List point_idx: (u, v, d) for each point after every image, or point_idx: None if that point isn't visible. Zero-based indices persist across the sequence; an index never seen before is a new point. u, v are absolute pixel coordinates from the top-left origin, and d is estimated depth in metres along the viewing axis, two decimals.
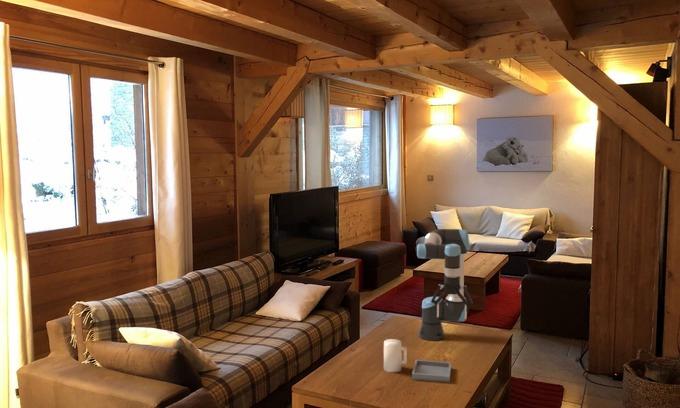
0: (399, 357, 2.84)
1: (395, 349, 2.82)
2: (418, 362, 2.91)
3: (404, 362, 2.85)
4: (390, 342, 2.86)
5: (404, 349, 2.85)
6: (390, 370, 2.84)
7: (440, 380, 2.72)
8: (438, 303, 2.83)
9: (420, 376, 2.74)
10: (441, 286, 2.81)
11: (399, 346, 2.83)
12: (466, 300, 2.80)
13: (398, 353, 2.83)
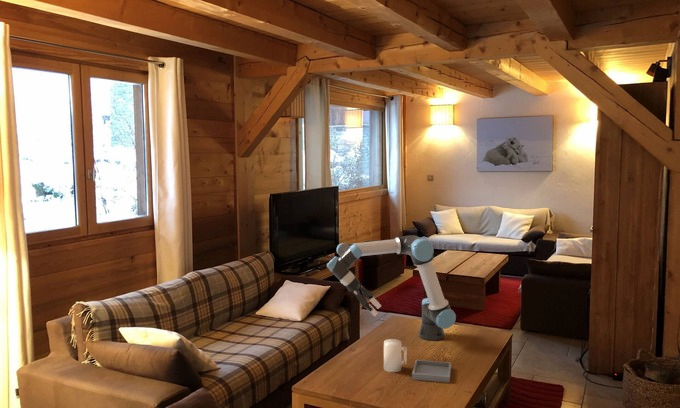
0: (399, 357, 2.84)
1: (395, 349, 2.82)
2: (418, 362, 2.91)
3: (404, 362, 2.85)
4: (390, 342, 2.86)
5: (404, 349, 2.85)
6: (390, 370, 2.84)
7: (440, 380, 2.72)
8: (372, 297, 3.06)
9: (420, 376, 2.74)
10: None
11: (399, 346, 2.83)
12: None
13: (398, 353, 2.83)
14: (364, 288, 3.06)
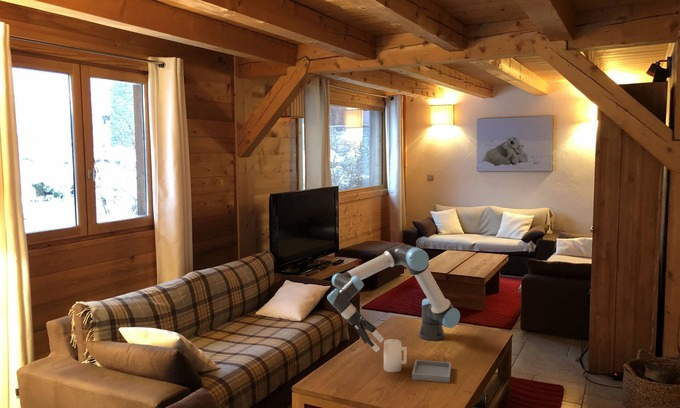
0: (399, 357, 2.84)
1: (395, 349, 2.82)
2: (418, 362, 2.91)
3: (404, 362, 2.85)
4: (390, 342, 2.86)
5: (404, 349, 2.85)
6: (390, 370, 2.84)
7: (440, 380, 2.72)
8: (374, 331, 2.94)
9: (420, 376, 2.74)
10: None
11: (399, 346, 2.83)
12: None
13: (398, 353, 2.83)
14: (366, 321, 2.94)
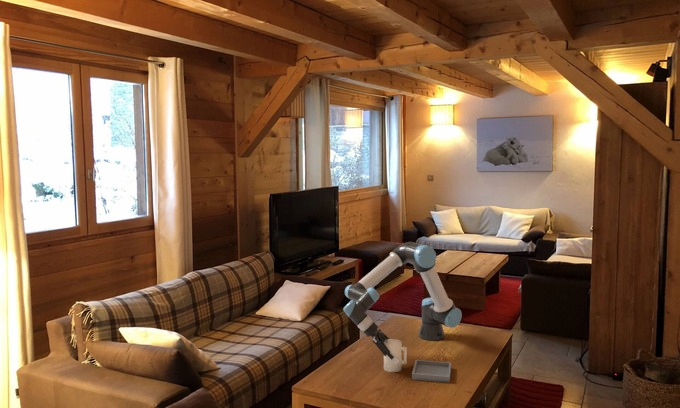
0: (399, 357, 2.84)
1: (395, 349, 2.82)
2: (418, 362, 2.91)
3: (404, 362, 2.85)
4: (390, 342, 2.86)
5: (404, 349, 2.85)
6: (390, 370, 2.84)
7: (440, 380, 2.72)
8: None
9: (420, 376, 2.74)
10: None
11: (399, 346, 2.83)
12: None
13: (398, 353, 2.83)
14: (383, 334, 2.93)
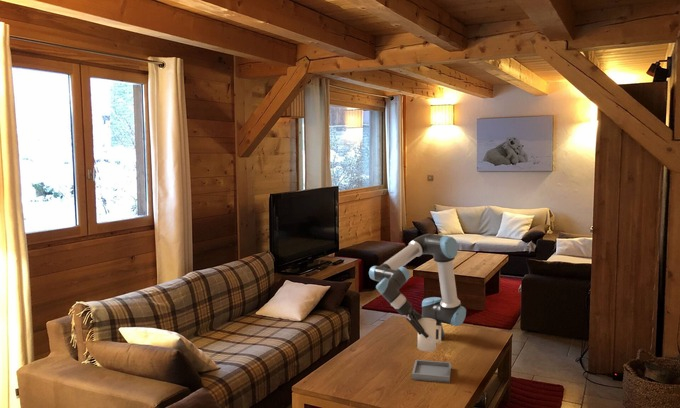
0: (434, 336, 2.76)
1: (430, 327, 2.75)
2: (418, 362, 2.91)
3: (439, 341, 2.78)
4: (424, 321, 2.78)
5: (439, 328, 2.77)
6: (424, 349, 2.76)
7: (440, 380, 2.72)
8: None
9: (420, 376, 2.74)
10: None
11: (434, 324, 2.76)
12: None
13: (433, 332, 2.76)
14: (417, 312, 2.86)
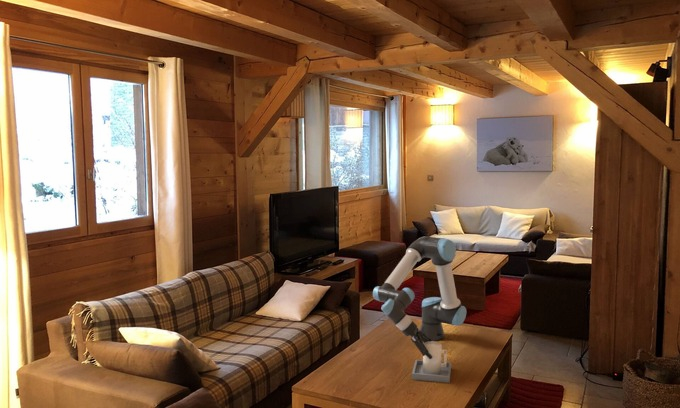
0: (439, 360, 2.78)
1: (435, 352, 2.76)
2: (418, 362, 2.91)
3: (444, 365, 2.79)
4: (430, 345, 2.79)
5: (444, 352, 2.78)
6: (430, 373, 2.77)
7: (440, 380, 2.72)
8: None
9: (420, 376, 2.74)
10: None
11: (439, 349, 2.77)
12: None
13: (438, 356, 2.77)
14: (421, 332, 2.87)
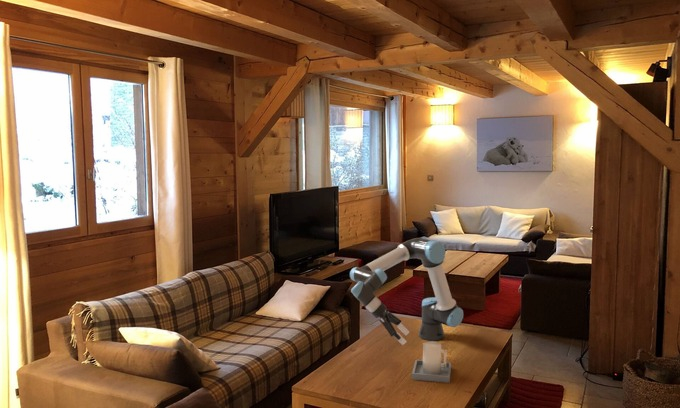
0: (439, 360, 2.78)
1: (435, 352, 2.76)
2: (418, 362, 2.91)
3: (444, 365, 2.79)
4: (429, 345, 2.79)
5: (444, 352, 2.78)
6: (430, 373, 2.77)
7: (440, 380, 2.72)
8: (399, 323, 2.89)
9: (420, 376, 2.74)
10: None
11: (439, 349, 2.77)
12: None
13: (438, 356, 2.77)
14: (391, 314, 2.90)
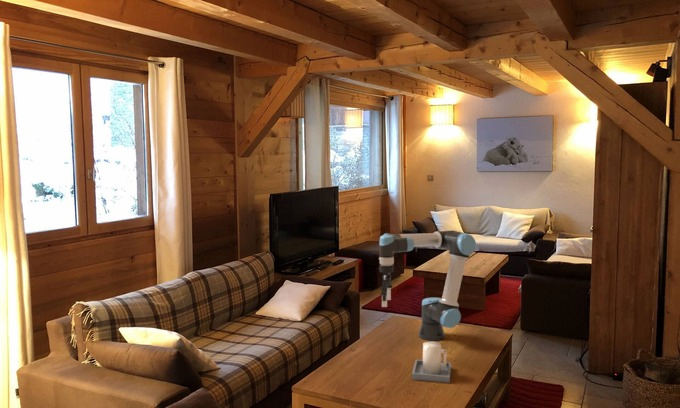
0: (439, 360, 2.78)
1: (435, 352, 2.76)
2: (418, 362, 2.91)
3: (444, 365, 2.79)
4: (429, 345, 2.79)
5: (444, 352, 2.78)
6: (430, 373, 2.77)
7: (440, 380, 2.72)
8: (389, 288, 3.09)
9: (420, 376, 2.74)
10: None
11: (439, 349, 2.77)
12: None
13: (438, 356, 2.77)
14: (390, 276, 3.08)
